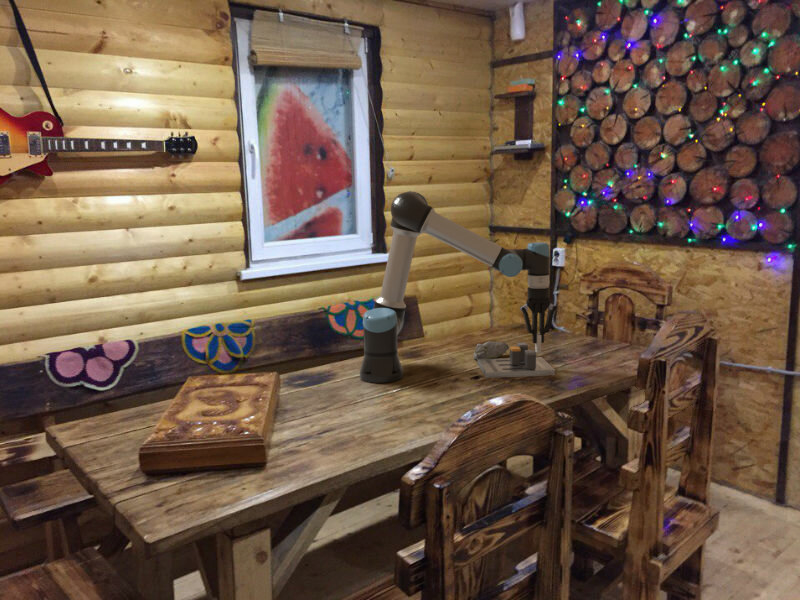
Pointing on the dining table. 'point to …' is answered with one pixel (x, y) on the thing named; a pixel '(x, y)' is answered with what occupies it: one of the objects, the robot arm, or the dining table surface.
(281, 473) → the dining table surface
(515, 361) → the breaker middle
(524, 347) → the breaker far
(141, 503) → the dining table surface
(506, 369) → the panel
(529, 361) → the breaker near
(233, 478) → the dining table surface
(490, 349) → the mineral specimen
